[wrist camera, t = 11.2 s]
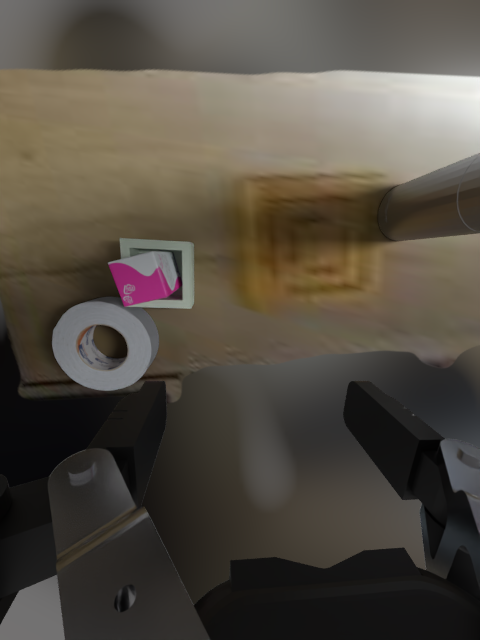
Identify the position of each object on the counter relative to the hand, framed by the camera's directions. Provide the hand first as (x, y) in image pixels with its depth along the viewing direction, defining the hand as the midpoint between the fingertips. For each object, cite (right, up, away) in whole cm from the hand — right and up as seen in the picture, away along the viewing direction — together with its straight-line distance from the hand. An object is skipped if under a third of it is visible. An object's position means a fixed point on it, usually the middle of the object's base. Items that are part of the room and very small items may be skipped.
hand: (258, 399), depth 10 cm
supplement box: (-14, +11, +29) cm, 34 cm away
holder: (-14, +11, +30) cm, 35 cm away
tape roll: (-23, 0, +33) cm, 40 cm away
